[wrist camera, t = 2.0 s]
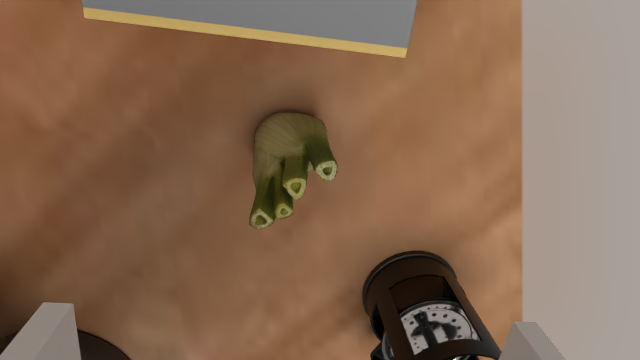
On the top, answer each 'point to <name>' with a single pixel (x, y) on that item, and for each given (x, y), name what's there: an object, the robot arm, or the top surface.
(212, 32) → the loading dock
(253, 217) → the fennel bulb
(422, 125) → the top surface
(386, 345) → the french press
